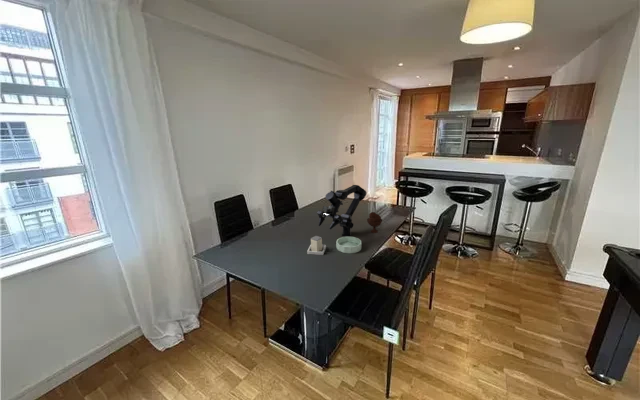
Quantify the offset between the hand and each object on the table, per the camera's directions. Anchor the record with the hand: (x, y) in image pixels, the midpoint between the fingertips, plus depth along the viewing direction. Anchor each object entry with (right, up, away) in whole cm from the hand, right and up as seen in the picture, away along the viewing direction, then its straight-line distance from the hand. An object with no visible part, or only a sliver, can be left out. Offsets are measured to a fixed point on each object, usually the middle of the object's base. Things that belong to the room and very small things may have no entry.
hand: (324, 227), depth 171 cm
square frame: (-5, -15, -2) cm, 16 cm away
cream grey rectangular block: (-5, -15, -2) cm, 16 cm away
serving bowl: (+16, -13, +1) cm, 21 cm away
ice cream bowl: (+38, -6, +25) cm, 46 cm away
